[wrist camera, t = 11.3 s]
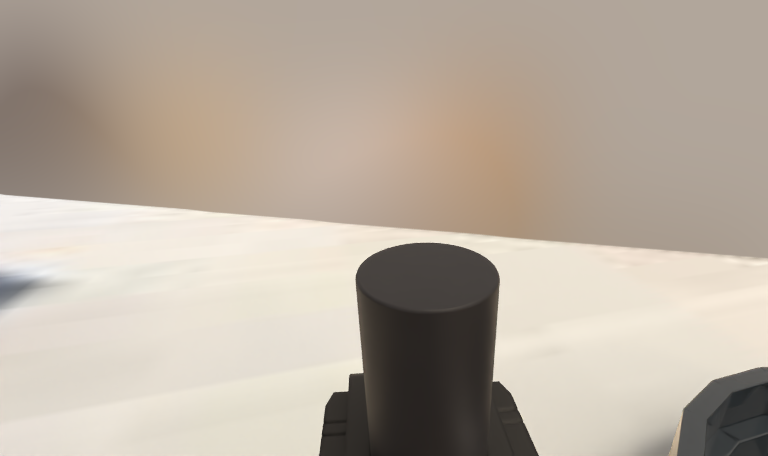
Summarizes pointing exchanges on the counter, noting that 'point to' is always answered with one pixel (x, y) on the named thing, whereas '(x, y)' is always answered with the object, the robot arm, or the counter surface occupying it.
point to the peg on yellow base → (428, 349)
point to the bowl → (726, 418)
